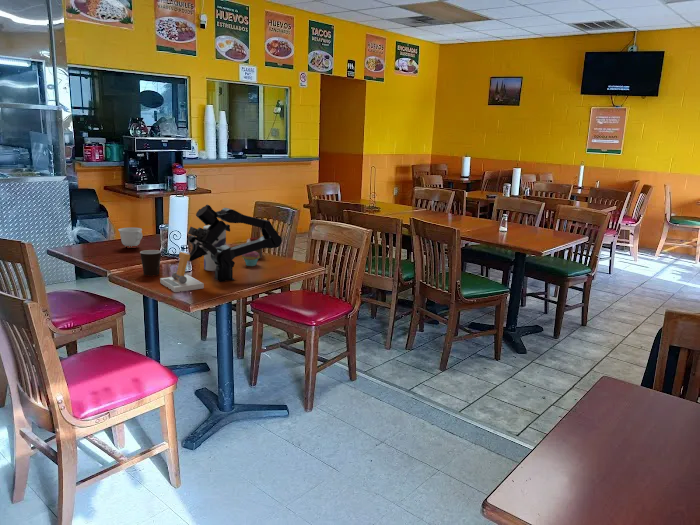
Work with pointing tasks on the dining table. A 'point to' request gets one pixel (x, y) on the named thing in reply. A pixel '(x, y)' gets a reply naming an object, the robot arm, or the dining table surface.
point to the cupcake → (251, 258)
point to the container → (208, 262)
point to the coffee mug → (151, 262)
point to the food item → (256, 250)
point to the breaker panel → (181, 283)
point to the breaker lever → (182, 264)
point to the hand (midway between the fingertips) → (188, 260)
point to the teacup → (130, 236)
